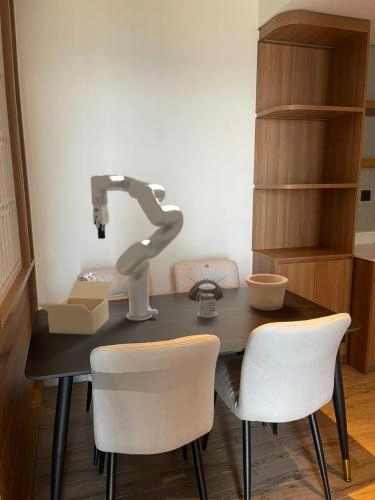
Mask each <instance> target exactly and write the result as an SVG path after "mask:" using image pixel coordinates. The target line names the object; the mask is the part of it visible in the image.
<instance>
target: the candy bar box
mask: <svg viewBox="0 0 375 500" xmlns="http://www.w3.org/2000/svg"><path fill="white" fill-rule="evenodd" d="M78 281H97V273H96V272H87V273H85V274H82V275H81V276H79V277H78Z"/></svg>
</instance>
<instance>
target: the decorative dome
mask: <svg viewBox="0 0 375 500" xmlns="http://www.w3.org/2000/svg"><path fill="white" fill-rule="evenodd" d="M207 283H208V284H212V285H214V286H215V289H212V290H202V289H200V288H199V286H201V285H203V284H207ZM200 291H201V292H200ZM199 292H200V293H199ZM202 292H204V293H212V294H214V297H215V301H218V300H219V299H223V298H224V292H223V290H222V287H221V286H220V284H218V283H217V282H215V281H214V280H212V279H208V278H205V279H202V280H199V281H196V282H195V283H194V285H193V286H192V287H191V288H190V289H189V291H188V293H189V299H192V298H193V299H192V300H195V301H199V298H200V297H201V296H200V294H201V293H202ZM198 293H199V294H198ZM197 296H198V297H197ZM201 300H202V301H203V299H201Z"/></svg>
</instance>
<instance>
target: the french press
mask: <svg viewBox="0 0 375 500" xmlns="http://www.w3.org/2000/svg"><path fill="white" fill-rule="evenodd" d="M204 267H205V268H209V267H210V264H205V265H204ZM199 288H200V289H202V290H212V289H215V286H214V285H212V284H208V283H207V284H203V285H201V286H199ZM200 292H201V291H200ZM200 292H199V293H200ZM199 293H198V294H199ZM200 296H201V297H200V298H199V300H198V301H196V303H197V305H198V309H199V311H198V313H197V316H199V317H200V318H214V317H216V316H217V315H218V313H217V312H216V300H215V297H214V294H212V293H204V292H202V293H201V294H200ZM197 297H198V296H197ZM201 299H203V301H202V300H201ZM198 302H199V303H198Z"/></svg>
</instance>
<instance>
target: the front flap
mask: <svg viewBox="0 0 375 500" xmlns="http://www.w3.org/2000/svg"><path fill="white" fill-rule="evenodd" d="M37 305H38V306H40V307H41V308H42V309H43V310H45V311H46V312H47V313H48V312H66V313H91V312H90V311H89V310H88V309H87V308H86V307H85V306H84V305H83V304H59V303H47V302H45V303H43V302H39V303H37Z"/></svg>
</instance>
